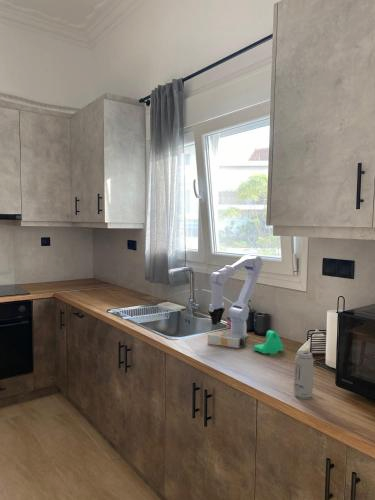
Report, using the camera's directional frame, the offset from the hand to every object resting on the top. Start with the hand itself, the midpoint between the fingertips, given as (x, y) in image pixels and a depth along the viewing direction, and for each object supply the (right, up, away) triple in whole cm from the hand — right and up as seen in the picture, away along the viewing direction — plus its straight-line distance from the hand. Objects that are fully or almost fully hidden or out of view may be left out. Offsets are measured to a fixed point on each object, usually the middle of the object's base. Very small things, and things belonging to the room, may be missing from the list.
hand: (216, 323), depth 192 cm
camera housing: (+7, -10, -3) cm, 13 cm away
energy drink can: (+25, -14, -60) cm, 67 cm away
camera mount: (+23, -11, -12) cm, 28 cm away
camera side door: (+3, -9, -6) cm, 12 cm away
